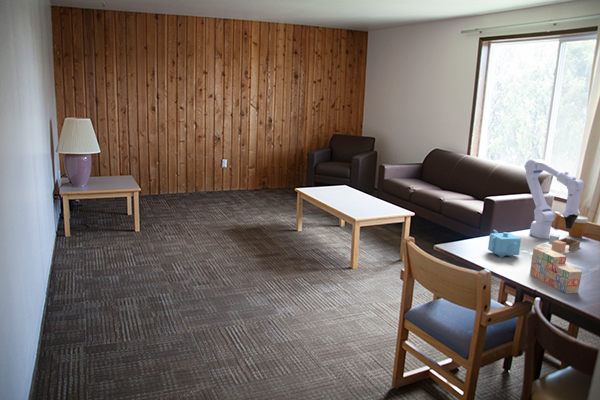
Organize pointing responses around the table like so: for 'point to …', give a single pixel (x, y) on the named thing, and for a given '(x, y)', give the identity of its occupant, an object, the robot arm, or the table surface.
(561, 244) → the terracotta cube
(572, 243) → the walnut cubby
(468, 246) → the table surface
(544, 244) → the deck
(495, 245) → the teapot
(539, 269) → the stack of blocks
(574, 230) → the disposable coffee cup
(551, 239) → the white block
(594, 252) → the table surface
